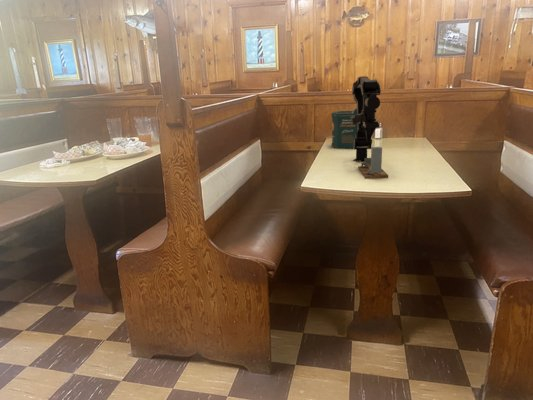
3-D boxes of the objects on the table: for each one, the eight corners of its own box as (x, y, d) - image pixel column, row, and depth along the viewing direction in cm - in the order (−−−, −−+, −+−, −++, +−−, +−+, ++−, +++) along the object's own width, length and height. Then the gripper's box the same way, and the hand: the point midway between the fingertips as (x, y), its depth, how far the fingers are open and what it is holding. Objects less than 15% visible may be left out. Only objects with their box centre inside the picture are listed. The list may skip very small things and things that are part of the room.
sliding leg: (366, 172, 193) (367, 147, 190) (379, 172, 193) (380, 146, 189) (368, 174, 190) (368, 148, 187) (381, 174, 190) (382, 147, 187)
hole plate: (357, 168, 209) (358, 158, 207) (378, 168, 208) (379, 157, 207) (365, 178, 190) (365, 167, 189) (388, 177, 190) (388, 166, 188)
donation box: (357, 149, 258) (358, 101, 250) (330, 148, 263) (330, 101, 255) (360, 144, 272) (361, 98, 264) (334, 144, 277) (334, 99, 269)
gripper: (348, 106, 212) (348, 138, 216) (355, 110, 194) (354, 144, 198) (371, 105, 211) (371, 137, 216) (380, 109, 193) (379, 143, 198)
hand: (368, 140), depth 207 cm, fingers closed
